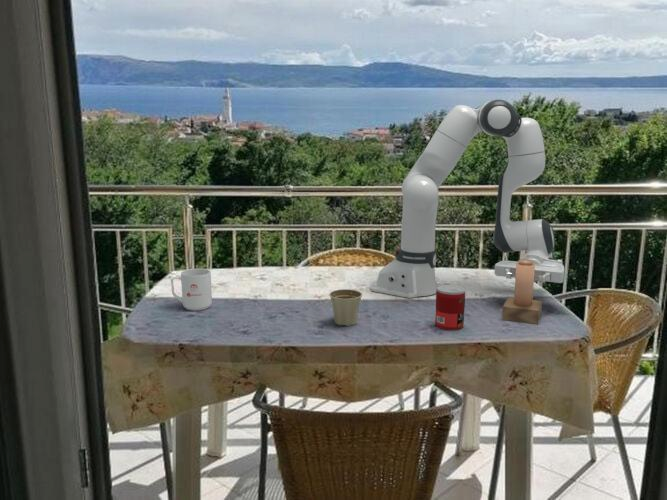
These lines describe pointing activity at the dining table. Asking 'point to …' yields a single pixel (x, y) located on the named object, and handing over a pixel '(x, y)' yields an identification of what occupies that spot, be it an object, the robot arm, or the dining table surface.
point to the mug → (195, 289)
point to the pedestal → (522, 311)
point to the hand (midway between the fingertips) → (524, 277)
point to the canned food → (450, 307)
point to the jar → (524, 282)
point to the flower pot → (345, 306)
